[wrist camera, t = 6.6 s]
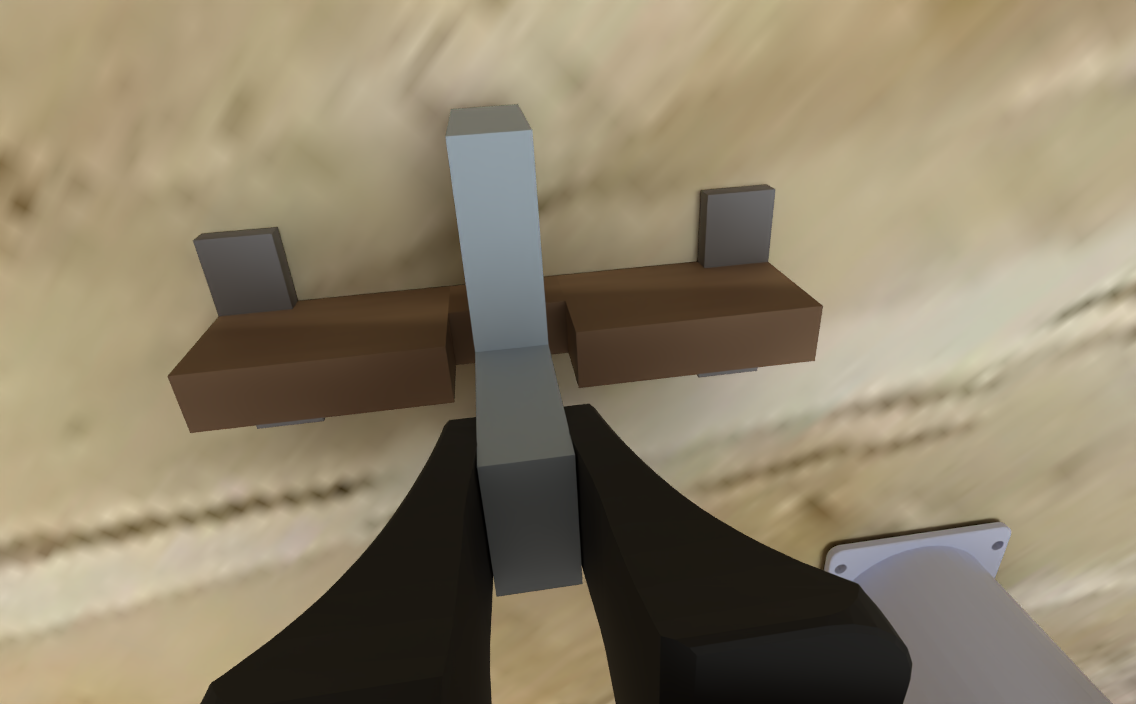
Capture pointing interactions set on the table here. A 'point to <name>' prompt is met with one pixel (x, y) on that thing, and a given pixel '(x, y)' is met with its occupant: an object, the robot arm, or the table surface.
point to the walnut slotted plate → (444, 333)
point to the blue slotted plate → (498, 222)
